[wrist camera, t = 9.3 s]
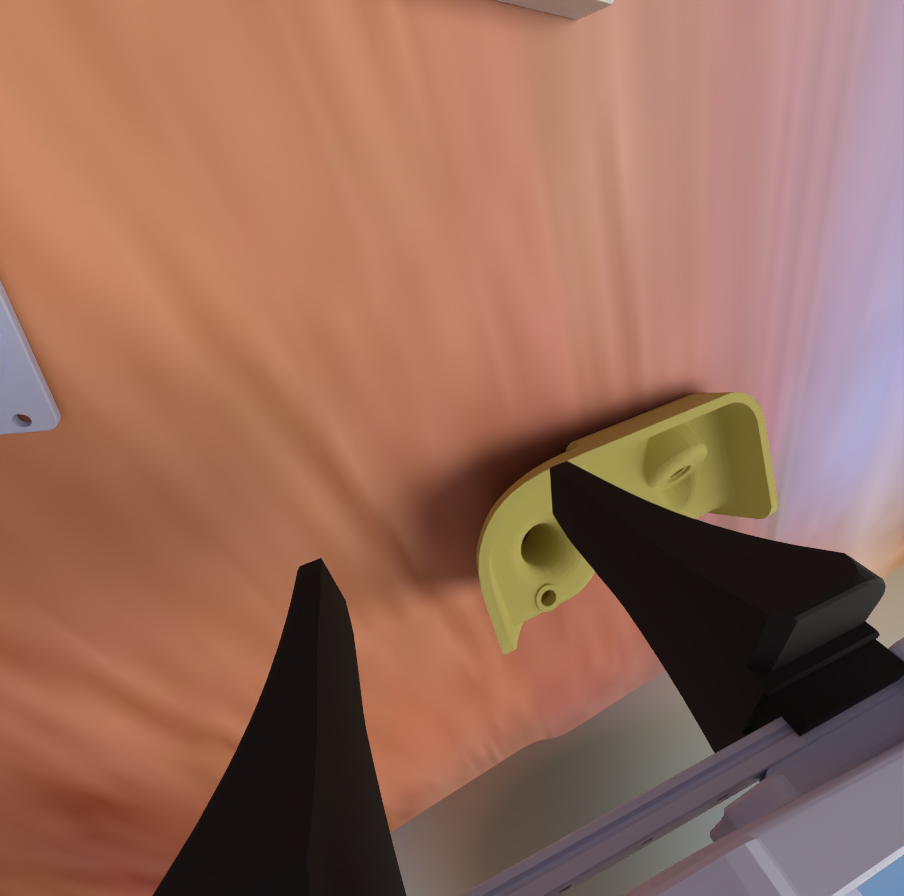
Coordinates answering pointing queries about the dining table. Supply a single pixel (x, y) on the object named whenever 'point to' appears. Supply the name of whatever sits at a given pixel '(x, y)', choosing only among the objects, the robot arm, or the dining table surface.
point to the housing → (563, 6)
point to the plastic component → (636, 471)
